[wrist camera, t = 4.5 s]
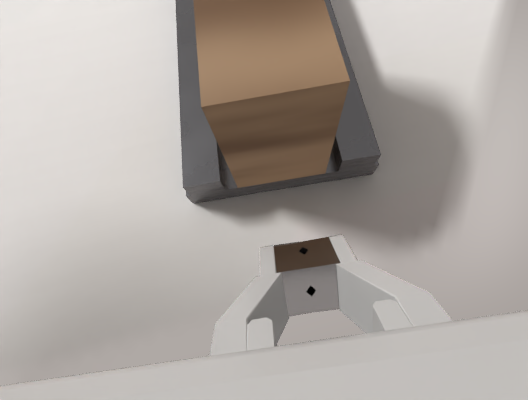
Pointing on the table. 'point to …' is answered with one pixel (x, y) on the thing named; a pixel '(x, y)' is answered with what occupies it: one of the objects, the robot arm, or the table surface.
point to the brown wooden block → (270, 85)
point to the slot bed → (209, 153)
